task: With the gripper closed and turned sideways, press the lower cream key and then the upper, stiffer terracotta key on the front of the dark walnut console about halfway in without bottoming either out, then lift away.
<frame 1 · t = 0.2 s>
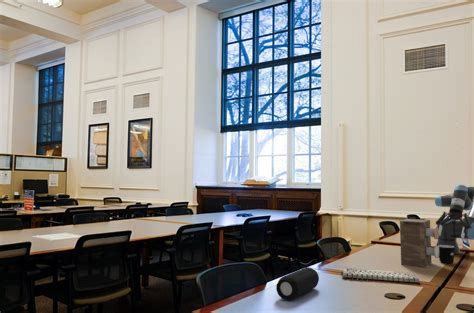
hand: (450, 236, 241), 15 cm above the table, tool tilted 35°, fingers open, 13 cm apart
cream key: (426, 250, 229), point 9 cm above the table, slide at 0.0 cm
portable speaker: (298, 294, 172), on the table
terracotta key: (426, 232, 229), point 19 cm above the table, slide at 0.0 cm
key console: (421, 264, 230), on the table
mechanical keyboard: (378, 279, 200), on the table
mug: (447, 263, 236), on the table
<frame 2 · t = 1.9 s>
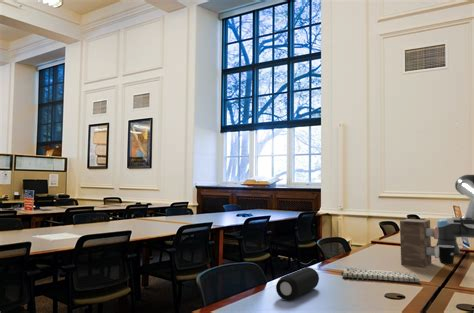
hand: (449, 220, 222), 27 cm above the table, tool horizontal, fingers open, 13 cm apart
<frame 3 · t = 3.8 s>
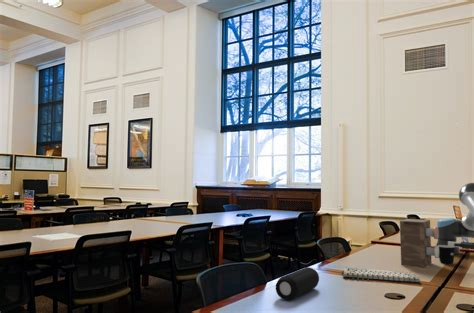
hand: (448, 243, 221), 14 cm above the table, tool horizontal, fingers closed
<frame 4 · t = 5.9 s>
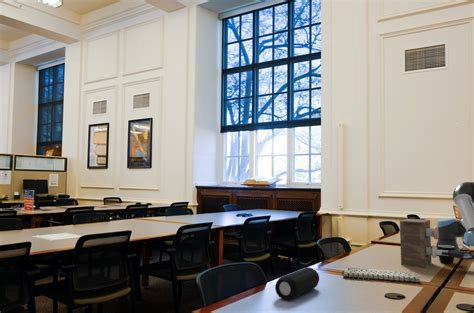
hand: (436, 252, 226), 8 cm above the table, tool horizontal, fingers closed
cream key: (424, 250, 230), point 9 cm above the table, slide at 1.2 cm, touching gripper
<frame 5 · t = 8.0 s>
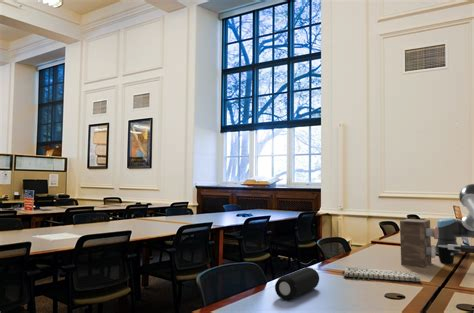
hand: (448, 246, 222), 12 cm above the table, tool horizontal, fingers closed
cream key: (423, 250, 230), point 9 cm above the table, slide at 1.8 cm
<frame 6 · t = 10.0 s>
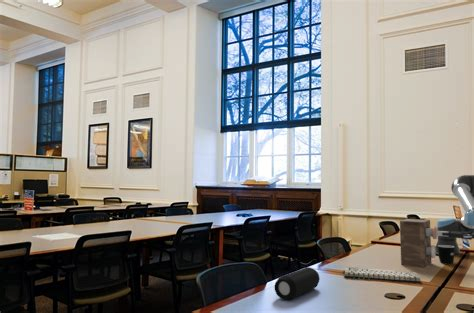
hand: (436, 233, 226), 19 cm above the table, tool horizontal, fingers closed
terracotta key: (424, 232, 230), point 19 cm above the table, slide at 0.7 cm, touching gripper
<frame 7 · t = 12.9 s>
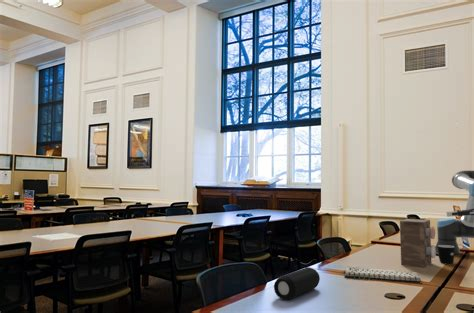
hand: (447, 214, 229), 30 cm above the table, tool horizontal, fingers closed
terracotta key: (422, 231, 231), point 20 cm above the table, slide at 1.8 cm
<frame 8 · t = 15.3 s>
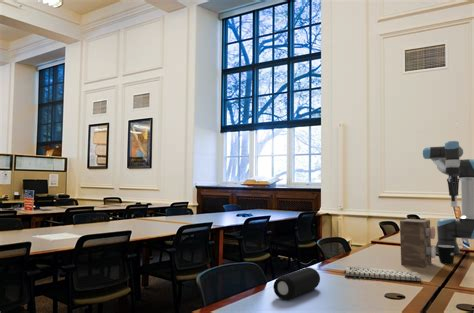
hand: (454, 206, 230), 34 cm above the table, tool pointing down, fingers closed
at the end: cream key slide at 1.8 cm; terracotta key slide at 1.8 cm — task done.
